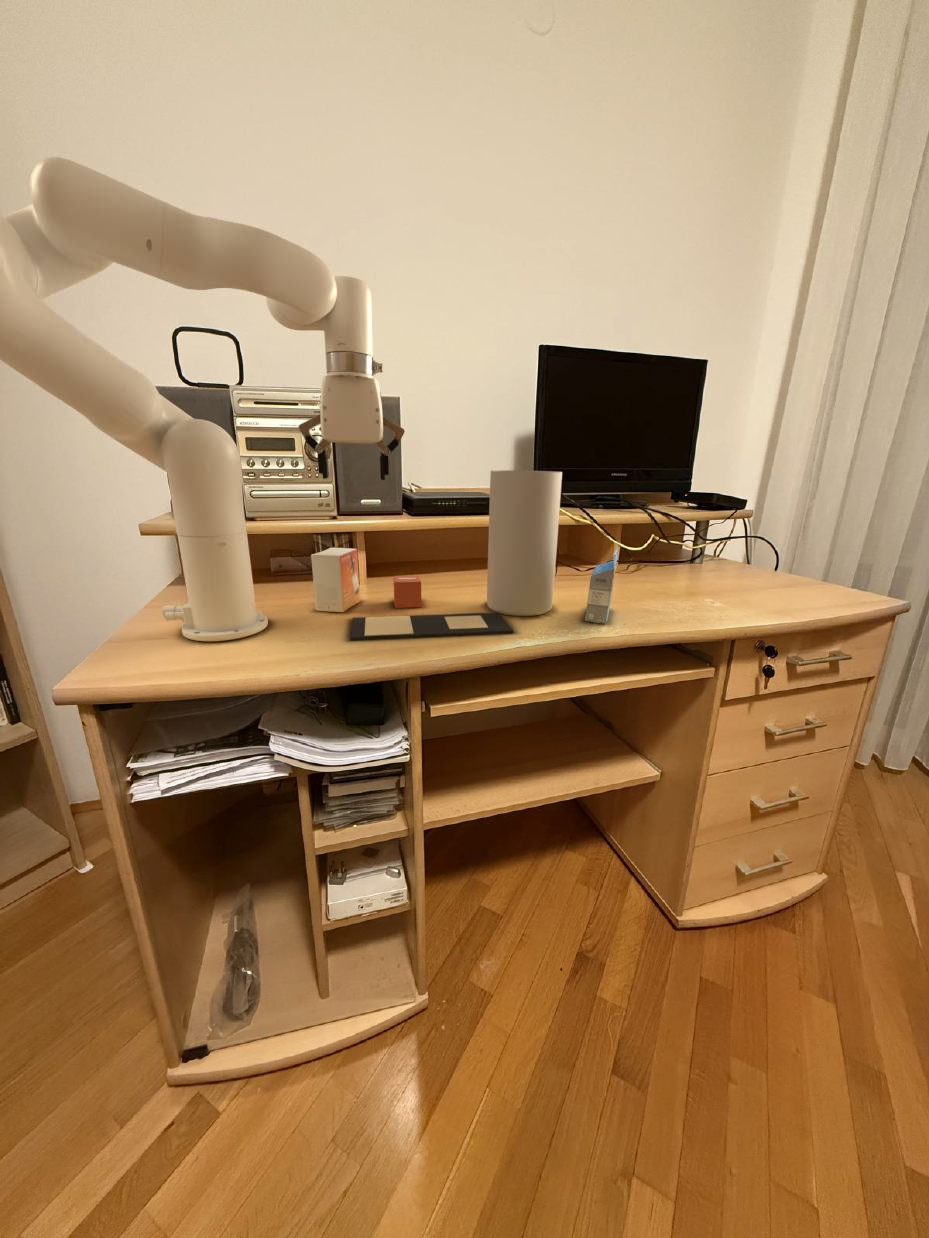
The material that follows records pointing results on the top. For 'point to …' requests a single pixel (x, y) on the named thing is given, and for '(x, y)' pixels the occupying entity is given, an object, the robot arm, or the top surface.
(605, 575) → the label tape box
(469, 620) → the mat
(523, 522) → the cylinder vase
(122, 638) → the top surface
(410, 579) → the red block
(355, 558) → the small box
